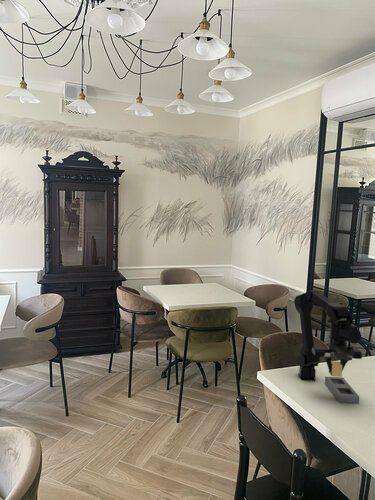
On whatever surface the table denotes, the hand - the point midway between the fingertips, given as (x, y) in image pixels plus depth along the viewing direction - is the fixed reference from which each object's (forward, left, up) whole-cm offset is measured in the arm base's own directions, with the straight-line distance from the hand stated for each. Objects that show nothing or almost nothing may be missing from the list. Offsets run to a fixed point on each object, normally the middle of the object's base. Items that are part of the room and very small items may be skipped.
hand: (335, 372), depth 149 cm
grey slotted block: (+5, +5, -11) cm, 13 cm away
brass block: (0, 0, -1) cm, 1 cm away
